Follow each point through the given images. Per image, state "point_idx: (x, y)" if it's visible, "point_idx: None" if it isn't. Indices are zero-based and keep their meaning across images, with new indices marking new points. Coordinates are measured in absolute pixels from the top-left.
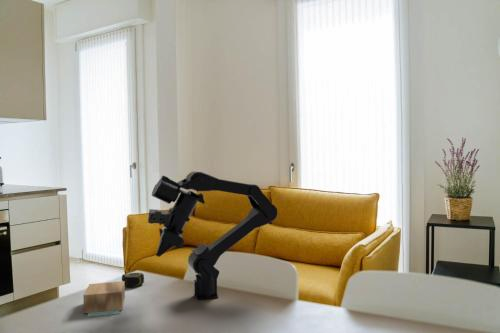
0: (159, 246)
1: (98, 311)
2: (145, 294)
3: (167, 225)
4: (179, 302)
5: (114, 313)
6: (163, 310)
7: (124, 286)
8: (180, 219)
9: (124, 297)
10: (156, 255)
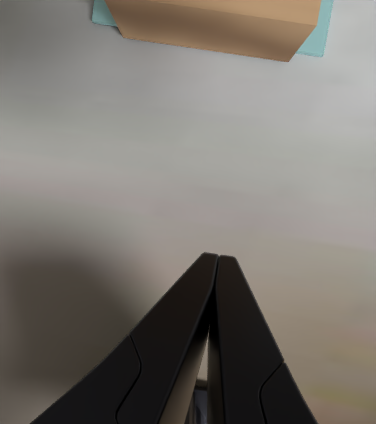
0: (133, 330)
1: None
2: (305, 167)
3: None
4: (128, 297)
5: (95, 2)
6: (59, 214)
7: (297, 37)
8: None
9: (267, 55)
10: (203, 254)
